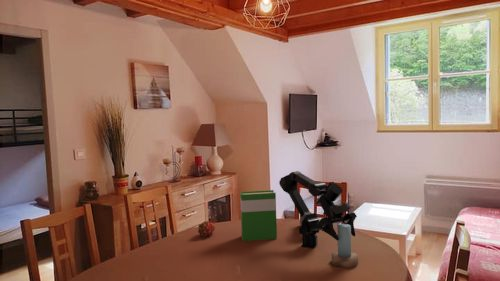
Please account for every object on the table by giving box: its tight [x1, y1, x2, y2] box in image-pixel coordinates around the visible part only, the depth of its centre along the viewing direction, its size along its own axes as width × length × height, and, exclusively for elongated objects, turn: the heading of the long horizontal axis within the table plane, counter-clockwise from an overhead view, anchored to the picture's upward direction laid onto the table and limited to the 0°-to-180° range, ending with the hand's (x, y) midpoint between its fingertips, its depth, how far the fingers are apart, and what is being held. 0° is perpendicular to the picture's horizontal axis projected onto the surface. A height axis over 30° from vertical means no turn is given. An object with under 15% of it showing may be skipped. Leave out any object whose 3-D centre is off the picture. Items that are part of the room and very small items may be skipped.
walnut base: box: [331, 250, 359, 269], centre depth 159 cm, size 11×11×3 cm
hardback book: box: [239, 189, 278, 242], centre depth 194 cm, size 18×7×24 cm, turn 96°
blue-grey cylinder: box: [337, 223, 352, 258], centre depth 158 cm, size 6×6×13 cm
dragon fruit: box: [197, 220, 216, 238], centre depth 201 cm, size 8×8×12 cm
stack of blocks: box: [299, 207, 313, 238], centre depth 203 cm, size 21×6×12 cm, turn 171°
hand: (346, 238), depth 157 cm, fingers open, 9 cm apart
